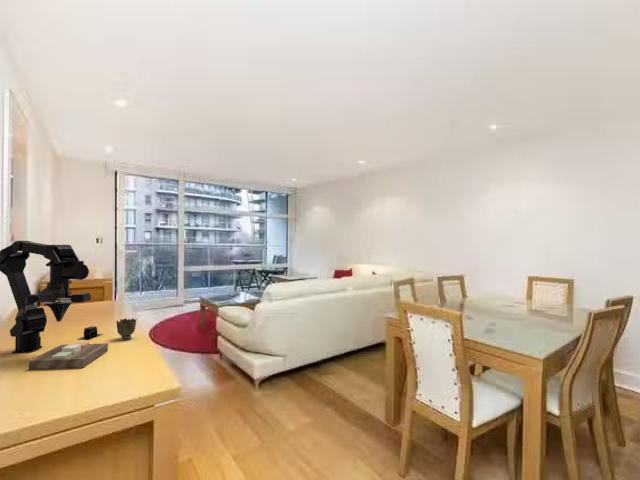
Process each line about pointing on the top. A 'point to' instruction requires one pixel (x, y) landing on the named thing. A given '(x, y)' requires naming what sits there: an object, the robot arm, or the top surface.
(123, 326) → the cup
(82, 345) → the terracotta button
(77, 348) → the ivory button
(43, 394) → the top surface
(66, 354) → the sage button
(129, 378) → the top surface
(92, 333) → the black block on base
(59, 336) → the top surface
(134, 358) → the top surface
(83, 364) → the brown wooden tray
